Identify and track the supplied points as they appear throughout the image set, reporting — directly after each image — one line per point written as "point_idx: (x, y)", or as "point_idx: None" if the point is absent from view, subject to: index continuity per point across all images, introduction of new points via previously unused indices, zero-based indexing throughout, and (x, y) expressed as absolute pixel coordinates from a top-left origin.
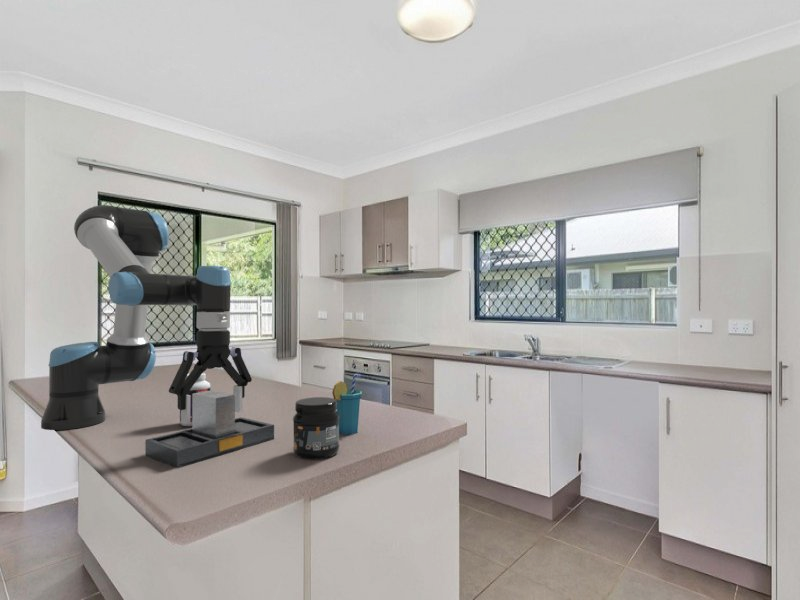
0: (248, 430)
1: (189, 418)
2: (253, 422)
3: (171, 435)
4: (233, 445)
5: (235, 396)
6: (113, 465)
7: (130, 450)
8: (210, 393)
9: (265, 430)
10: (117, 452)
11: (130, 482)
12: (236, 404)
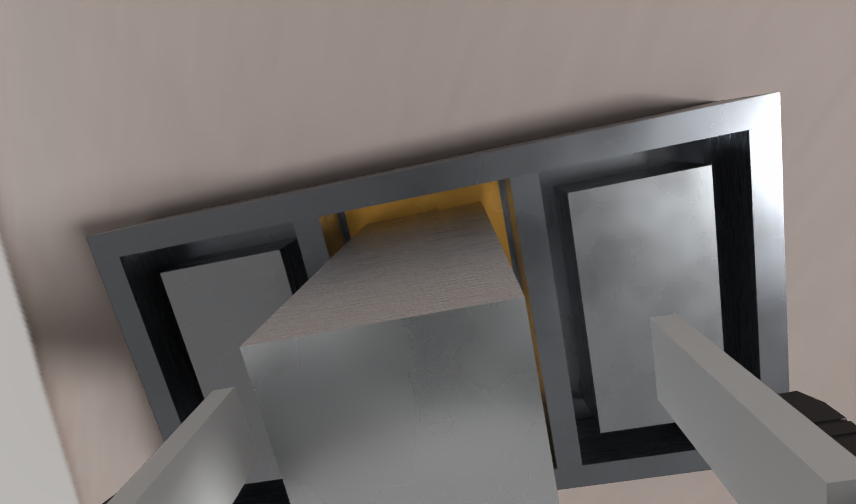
0: (609, 461)
1: (236, 488)
2: (752, 291)
3: (229, 234)
4: None
5: (729, 428)
6: (21, 266)
7: (87, 64)
8: (424, 497)
9: None
10: (27, 53)
11: (82, 500)
12: (685, 396)
